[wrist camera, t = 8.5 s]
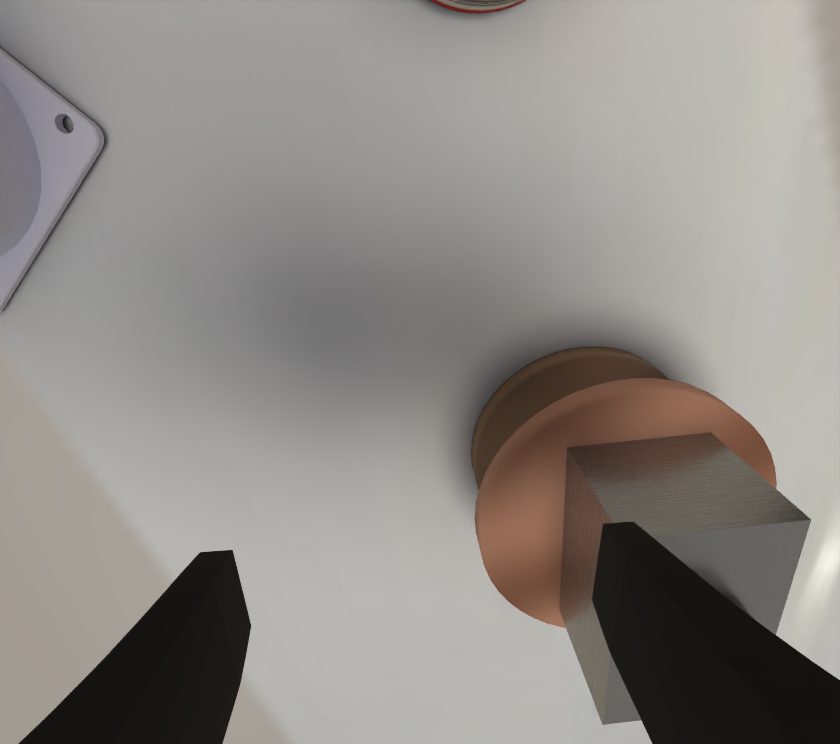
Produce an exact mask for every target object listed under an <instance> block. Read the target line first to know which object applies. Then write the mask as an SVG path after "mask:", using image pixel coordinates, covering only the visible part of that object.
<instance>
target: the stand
mask: <svg viewBox="0 0 840 744" xmlns="http://www.w3.org/2000/svg"><path fill="white" fill-rule="evenodd" d="M709 432H711V433H712V434H713V435H715V436H716V437H717V438H718V439H719V440H720V441H721V442H723V443H724V444H725V445H726V446H727V447H728V448H729V449H731V450H732V451H733V452H734V453H735V454H736V455H738V456H739V457H740V458H741V459H742V460H743V461H744V462H746V463H747V464H748V465H749V466H750V467H751V468H752V469H754V470H755V471H756V472H757V473H758V474H759V475H760V476H762V477H763V478H764V479H765V480H766V481H767V482H768V483H770V484H771V485H772V486H773V487H774V488H775V489H776V483H777V482H776V473H775V466H774V463H773V459H772V456H771V453H770V451H769V449H768V447H767V445H766V443H765V441H764V439H763V438H762V437H761V435H760V434H759V433H758V432H757V430H756V429H755V428H754V427H753V426H752V425H751V424H750V423H749V422H748V421H747V420H746V419H744V418H743V417H742V416H741V415H740V414H738V413H737V412H736V411H734V410H733V409H732V408H730V407H729V406H728V405H726V404H725V403H724V402H722V401H721V400H719V399H718V398H716V397H715V396H713V395H711V394H710V393H708V392H706V391H704V390H701V389H699V388H697V387H694V386H692V385H689V384H685V383H681V382H677V381H673V380H669V379H668V378H667V377H666V376H665V375H663V374H662V373H661V372H660V371H659V370H657V369H656V368H655V367H654V366H652V365H651V364H650V363H648V362H646V361H645V360H643V359H642V358H640V357H638V356H635V355H633V354H631V353H628V352H625V351H621V350H617V349H613V348H605V347H581V348H573V349H568V350H564V351H560V352H556V353H553V354H550V355H548V356H545V357H543V358H540V359H538V360H536V361H534V362H532V363H531V364H529V365H527V366H525V367H524V368H522V369H521V370H519V371H518V372H516V373H515V374H514V375H513V376H511V377H510V378H509V379H508V380H507V381H506V382H504V383H503V384H502V385H501V386H500V388H499V389H498V390H497V391H496V392H495V393H494V394H493V396H492V397H491V398H490V400H489V401H488V403H487V404H486V405H485V407H484V409H483V411H482V413H481V415H480V416H479V419H478V422H477V424H476V427H475V430H474V434H473V439H472V448H471V457H472V466H473V470H474V474H475V478H476V482H477V485H478V489H479V492H478V496H477V501H476V509H475V525H476V534H477V538H478V542H479V547H480V551H481V555H482V559H483V562H484V566H485V569H486V571H487V573H488V575H489V577H490V579H491V581H492V582H493V584H494V585H495V587H496V588H497V590H498V591H499V592H500V593H501V594H502V595H503V596H504V597H505V598H506V599H507V601H508V602H510V603H511V604H512V605H514V606H515V607H516V608H518V609H519V610H520V611H522V612H524V613H526V614H528V615H529V616H531V617H533V618H535V619H538V620H540V621H543V622H545V623H548V624H552V625H556V626H560V627H564V628H566V626H565V624H564V621H563V618H562V616H561V613H560V610H559V605H560V584H561V563H562V542H563V522H564V501H565V480H566V459H567V447H575V446H584V445H594V444H604V443H613V442H623V441H632V440H642V439H651V438H661V437H671V436H680V435H690V434H699V433H709Z"/></svg>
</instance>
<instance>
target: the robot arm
mask: <svg viewBox="0 0 840 744" xmlns="http://www.w3.org/2000/svg"><path fill="white" fill-rule="evenodd" d="M66 115H67V116H69V117H70V118H71V120H72V121H73V124H74V129H73V131H72V132H71V133H69V132H67V130H66V129H65V128H64V126H63V123H62V122H63V118H64V117H65V116H66ZM103 145H104V136H103V134H102V132H101V129H100V128H99V127H98V126H97V125H96V124H95V123H94V122H93V121H92V120H90V119H89V118H88V117H87V116H85V115H84V114H83V113H82V112H80V111H79V110H78V109H76V108H75V107H74V106H73V105H71V104H70V103H69V102H68V101H66V100H65V99H64V98H63V97H61V96H60V95H59V94H58V93H56V92H55V91H54V90H53V89H51V88H50V87H49V86H47V85H46V84H45V83H44V82H42V81H41V80H40V79H39V78H37V77H36V76H35V75H34V74H32V73H31V72H30V71H29V70H27V69H26V68H25V67H24V66H22V65H21V64H20V63H18V62H17V61H16V60H15V59H13V58H12V57H11V56H10V55H8V54H7V53H6V52H5V51H3V50H2V49H1V48H0V313H1V312H2V310H3V309H4V307H5V306H6V304H7V302H8V301H9V299H10V298H11V296H12V294H13V293H14V291H15V289H16V288H17V286H18V285H19V283H20V281H21V280H22V278H23V276H24V275H25V273H26V272H27V270H28V268H29V267H30V265H31V263H32V262H33V260H34V259H35V257H36V255H37V254H38V252H39V250H40V249H41V247H42V246H43V244H44V242H45V241H46V239H47V237H48V236H49V234H50V233H51V231H52V229H53V228H54V226H55V224H56V223H57V221H58V220H59V218H60V216H61V215H62V213H63V211H64V210H65V208H66V207H67V205H68V203H69V202H70V200H71V198H72V197H73V195H74V194H75V192H76V190H77V189H78V187H79V186H80V184H81V182H82V181H83V179H84V177H85V176H86V174H87V173H88V171H89V169H90V168H91V166H92V164H93V163H94V161H95V160H96V158H97V156H98V155H99V153H100V151H101V150H102V148H103ZM592 602H593V605H594V608H595V611H596V614H597V617H598V620H599V623H600V626H601V629H602V632H603V635H604V637H605V640H606V643H607V646H608V649H609V651H610V654H611V656H612V658H613V660H614V663H615V665H616V667H617V669H618V671H619V673H620V676H621V678H622V680H623V682H624V684H625V686H626V688H627V691H628V693H629V695H630V697H631V699H632V701H633V703H634V705H635V708H636V710H637V712H638V714H639V716H640V718H641V720H642V722H643V724H644V727H645V729H646V731H647V733H648V735H649V737H650V739H651V741H652V743H653V744H840V680H839V679H837V678H836V677H834V676H833V675H831V674H830V673H828V672H827V671H825V670H824V669H822V668H821V667H820V666H818V665H817V664H815V663H814V662H812V661H811V660H809V659H808V658H807V657H805V656H804V655H802V654H801V653H800V652H798V651H797V650H796V649H794V648H793V647H791V646H790V645H789V644H787V643H786V642H785V641H783V640H782V639H780V638H779V637H778V636H776V635H775V634H774V633H772V632H771V631H769V630H768V629H767V628H765V627H764V626H763V625H761V624H760V623H759V622H757V621H756V620H755V619H753V618H752V617H751V616H750V615H748V614H747V613H746V612H744V611H743V610H742V609H740V608H739V607H738V606H737V605H735V604H734V603H733V602H731V601H730V600H729V599H728V598H726V597H725V596H724V595H723V594H721V593H720V592H719V591H718V590H716V589H715V588H714V587H713V586H711V585H710V584H709V583H708V582H706V581H705V580H704V579H703V578H701V577H700V576H699V575H698V574H697V573H695V572H694V571H693V570H692V569H690V568H689V567H688V566H687V565H686V564H684V563H683V562H682V561H681V560H680V559H678V558H677V557H676V556H675V555H674V554H672V553H671V552H670V551H669V550H668V549H666V548H665V547H664V546H663V545H662V544H660V543H659V542H658V541H657V540H656V539H654V538H653V537H652V536H651V535H650V534H648V533H647V532H646V531H645V530H643V529H642V528H641V527H640V526H638V525H637V524H636V523H635V522H619V523H605V524H603V527H602V533H601V540H600V547H599V554H598V560H597V567H596V574H595V581H594V587H593V594H592ZM250 629H251V623H250V619H249V615H248V611H247V607H246V603H245V599H244V595H243V591H242V587H241V583H240V579H239V574H238V570H237V566H236V562H235V558H234V554H233V550H226V551H212V552H200V553H199V554H198V555H197V556H196V557H195V558H194V560H193V561H192V562H191V563H190V564H189V565H188V566H187V567H186V568H185V569H184V571H183V572H182V573H181V574H180V575H179V576H178V577H177V578H176V580H175V581H174V582H173V583H172V584H171V585H170V587H169V588H168V589H167V590H166V591H165V592H164V593H163V594H162V596H161V597H160V598H159V599H158V600H157V601H156V602H155V603H154V605H153V606H152V607H151V608H150V609H149V610H148V611H147V612H146V613H145V615H144V616H143V617H142V618H141V619H140V620H139V621H138V622H137V623H136V625H135V626H134V627H133V628H132V629H131V630H130V631H129V632H128V633H127V634H126V635H125V637H123V639H122V640H121V641H120V642H119V643H118V644H117V645H116V646H115V647H114V648H113V649H112V650H111V652H110V653H109V654H108V655H107V656H106V657H105V658H104V659H103V660H102V661H101V662H100V663H99V664H98V665H97V666H96V668H94V670H93V671H92V672H91V673H90V674H89V675H88V676H87V677H86V678H85V679H84V680H83V681H82V682H81V683H80V684H79V685H78V686H77V687H76V688H75V689H74V690H73V691H72V692H71V693H70V694H69V695H68V696H67V697H66V698H65V699H64V700H63V701H62V702H61V703H60V704H59V705H58V706H57V707H56V708H55V709H54V710H53V711H52V712H51V713H50V714H49V715H48V716H47V717H46V718H45V719H44V720H43V721H42V722H41V723H40V724H39V725H38V726H37V727H36V728H35V729H33V730H32V731H31V732H30V733H29V734H28V735H27V736H26V737H25V738H24V739H23V740H22V741H21V742H20V743H19V744H222V743H223V740H224V736H225V733H226V730H227V726H228V723H229V720H230V717H231V713H232V710H233V707H234V703H235V700H236V696H237V693H238V690H239V686H240V683H241V678H242V673H243V667H244V662H245V657H246V652H247V646H248V641H249V635H250Z"/></svg>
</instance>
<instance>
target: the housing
mask: <svg viewBox="0 0 840 744" xmlns="http://www.w3.org/2000/svg"><path fill="white" fill-rule="evenodd" d="M619 522H635V523H636V524H637V525H638V526H640V527H641V528H642V529H643V530H645V531H646V532H647V533H648V534H650V535H651V536H652V537H653V538H654V539H656V540H657V541H658V542H659V543H660V544H662V545H663V546H664V547H665V548H666V549H668V550H669V551H670V552H671V553H672V554H674V555H675V556H676V557H677V558H678V559H680V560H681V561H682V562H683V563H684V564H686V565H687V566H688V567H689V568H690V569H692V570H693V571H694V572H695V573H697V574H698V575H699V576H700V577H701V578H703V579H704V580H705V581H706V582H708V583H709V584H710V585H711V586H713V587H714V588H715V589H716V590H718V591H719V592H720V593H721V594H723V595H724V596H725V597H726V598H728V599H729V600H730V601H731V602H733V603H734V604H735V605H737V606H738V607H739V608H740V609H742V610H743V611H744V612H746V613H747V614H748V615H750V616H751V617H752V618H753V619H755V620H756V621H757V622H759V623H760V624H761V625H763V626H764V627H765V628H767V629H768V630H769V631H771V632H772V633H774V634H775V635H776V632H777V629H778V626H779V622H780V619H781V616H782V613H783V609H784V606H785V603H786V600H787V596H788V593H789V590H790V587H791V584H792V580H793V577H794V574H795V571H796V567H797V564H798V561H799V558H800V554H801V551H802V548H803V545H804V541H805V538H806V535H807V532H808V528H809V525H810V522H811V519H810V518H809V517H807V516H806V515H805V514H804V513H803V512H802V511H801V510H799V509H798V508H797V507H796V506H795V505H794V504H793V503H791V502H790V501H789V500H788V499H787V498H786V497H785V496H783V495H782V494H781V493H780V492H779V491H778V490H777V489H775V488H774V487H773V486H772V485H771V484H770V483H768V482H767V481H766V480H765V479H764V478H763V477H762V476H760V475H759V474H758V473H757V472H756V471H755V470H754V469H752V468H751V467H750V466H749V465H748V464H747V463H746V462H744V461H743V460H742V459H741V458H740V457H739V456H738V455H736V454H735V453H734V452H733V451H732V450H731V449H729V448H728V447H727V446H726V445H725V444H724V443H723V442H721V441H720V440H719V439H718V438H717V437H716V436H715V435H713V434H712V433H711V432H709V433H699V434H690V435H680V436H671V437H661V438H651V439H642V440H632V441H623V442H613V443H604V444H594V445H584V446H575V447H567V459H566V480H565V501H564V522H563V542H562V563H561V584H560V605H559V610H560V613H561V616H562V618H563V621H564V624H565V626H566V629H567V632H568V634H569V637H570V639H571V642H572V645H573V647H574V650H575V653H576V655H577V658H578V661H579V663H580V666H581V669H582V671H583V674H584V677H585V679H586V682H587V684H588V687H589V690H590V692H591V695H592V698H593V700H594V703H595V706H596V708H597V711H598V714H599V716H600V719H601V722H602V724H603V725H604V724H613V723H621V722H629V721H638V720H641V718H640V716H639V714H638V712H637V710H636V708H635V705H634V703H633V701H632V699H631V697H630V695H629V693H628V691H627V688H626V686H625V684H624V682H623V680H622V678H621V676H620V673H619V671H618V669H617V667H616V665H615V663H614V660H613V658H612V656H611V654H610V651H609V649H608V646H607V643H606V640H605V637H604V635H603V632H602V629H601V626H600V623H599V620H598V617H597V614H596V611H595V608H594V605H593V602H592V594H593V587H594V581H595V574H596V567H597V560H598V554H599V547H600V540H601V533H602V527H603V524H605V523H619Z"/></svg>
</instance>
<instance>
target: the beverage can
mask: <svg viewBox="0 0 840 744" xmlns="http://www.w3.org/2000/svg"><path fill="white" fill-rule="evenodd" d="M430 1H432V2H434V3H436V4H438V5H440V6H442V7H445V8H447V9H451V10H454V11H458V12H464V13H478V14H479V13H490V12H496V11H501V10H504V9H507V8H510V7H513V6H515V5H518V4H520V3H522V2H524V1H526V0H430Z"/></svg>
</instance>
